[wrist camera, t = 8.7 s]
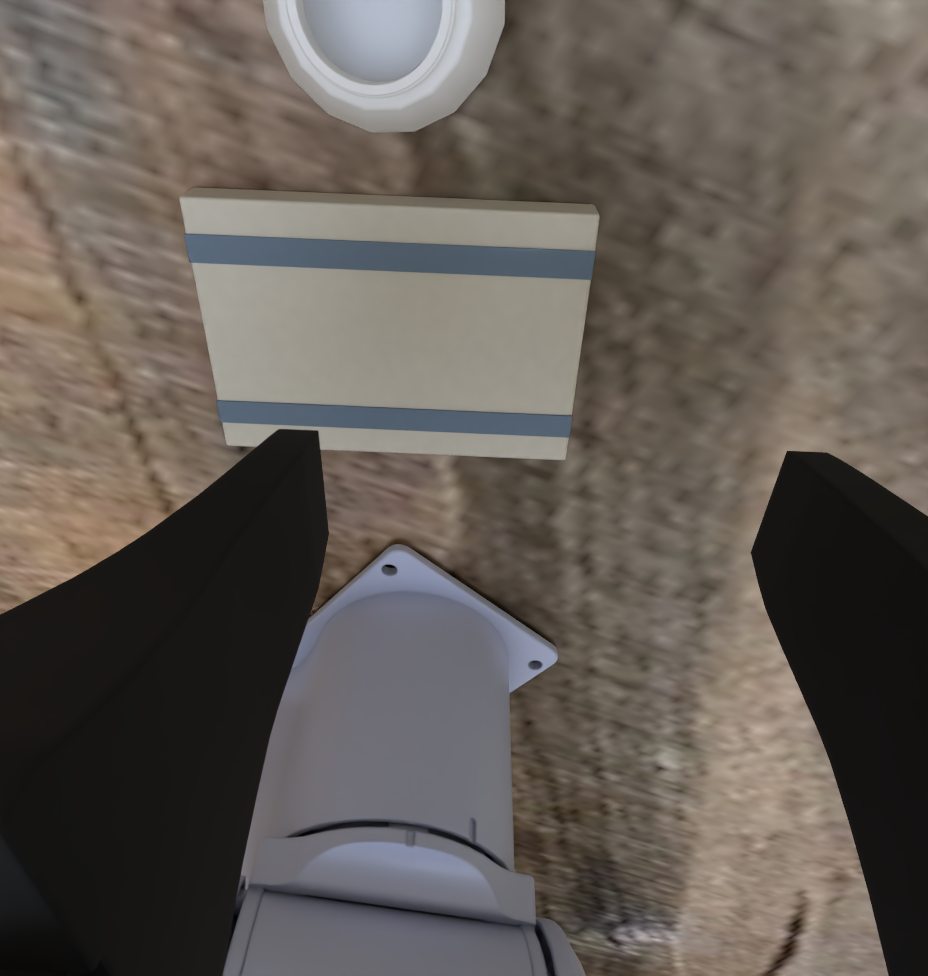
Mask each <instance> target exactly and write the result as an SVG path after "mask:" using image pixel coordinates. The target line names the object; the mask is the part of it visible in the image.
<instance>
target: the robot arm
mask: <svg viewBox="0 0 928 976" xmlns="http://www.w3.org/2000/svg"><path fill="white" fill-rule="evenodd" d="M328 535H329V531H328V521H327V511H326V501H325V492H324V482H323V472H322V462H321V452H320V442H319V432H318V430H296V429H278V430H277V431H275V432H274V433H273V434H272V435H270V436H269V437H268V438H267V439H265V440H264V441H263V442H262V443H261V444H260V445H258V446H257V447H256V448H255V449H254V450H252V451H251V452H250V453H249V454H248V455H247V456H245V457H244V458H243V459H242V460H241V461H240V462H238V463H237V464H236V465H235V466H234V467H232V468H231V469H230V470H229V471H227V472H226V473H225V474H224V475H223V476H221V477H220V478H219V479H218V480H216V481H215V482H214V483H213V484H212V485H210V486H209V487H208V488H207V489H205V490H204V491H203V492H202V493H200V494H199V495H198V496H197V497H195V498H194V499H192V500H191V501H190V502H188V503H187V504H186V505H184V506H183V507H182V508H180V509H179V510H177V511H176V512H175V513H173V514H172V515H171V516H169V517H168V518H166V519H165V520H164V521H162V522H161V523H160V524H158V525H157V526H155V527H154V528H153V529H151V530H150V531H149V532H147V533H146V534H144V535H143V536H141V537H140V538H138V539H137V540H135V541H134V542H132V543H131V544H129V545H127V546H126V547H124V548H123V549H121V550H120V551H118V552H116V553H115V554H113V555H111V556H110V557H108V558H106V559H105V560H103V561H101V562H100V563H98V564H96V565H95V566H93V567H91V568H89V569H88V570H86V571H84V572H83V573H81V574H79V575H77V576H75V577H74V578H72V579H70V580H68V581H66V582H64V583H62V584H60V585H58V586H56V587H54V588H52V589H50V590H48V591H46V592H44V593H42V594H41V595H39V596H37V597H35V598H33V599H31V600H29V601H27V602H25V603H23V604H21V605H19V606H17V607H15V608H13V609H11V610H9V611H7V612H5V613H3V614H1V615H0V976H585V973H584V970H583V968H582V965H581V963H580V961H579V959H578V957H577V956H576V954H575V953H574V951H573V949H572V948H571V946H570V943H569V941H568V939H567V937H566V936H565V934H564V932H563V931H562V929H561V928H560V926H559V925H557V924H556V923H555V922H554V921H552V920H549V919H544V918H537V917H536V913H535V893H534V878H533V877H531V876H529V875H524V874H519V873H516V872H514V844H513V808H512V773H511V737H510V701H509V693H511V692H512V691H514V690H515V689H517V688H518V687H520V686H521V685H523V684H524V683H526V682H527V681H529V680H530V679H532V678H533V677H535V676H536V675H538V674H539V673H541V672H542V671H544V670H545V669H547V668H548V667H550V666H551V665H553V664H554V663H555V662H556V661H557V659H558V653H557V648H556V647H555V646H554V645H553V644H551V643H550V642H548V641H547V640H545V639H544V638H543V637H541V636H540V635H538V634H537V633H535V632H534V631H532V630H531V629H529V628H528V627H526V626H525V625H523V624H522V623H520V622H519V621H517V620H516V619H514V618H513V617H511V616H510V615H509V614H507V613H506V612H504V611H503V610H501V609H500V608H498V607H497V606H495V605H494V604H492V603H491V602H489V601H488V600H486V599H485V598H483V597H482V596H480V595H479V594H477V593H476V592H475V591H473V590H472V589H470V588H469V587H467V586H466V585H464V584H463V583H461V582H460V581H458V580H457V579H455V578H454V577H452V576H451V575H449V574H448V573H446V572H445V571H443V570H442V569H441V568H439V567H438V566H436V565H435V564H433V563H432V562H430V561H429V560H427V559H426V558H424V557H423V556H421V555H420V554H418V553H417V552H415V551H414V550H412V549H411V548H409V547H408V546H405V545H401V544H396V545H392V546H390V547H388V548H387V549H386V550H385V551H384V552H383V553H382V554H380V555H379V556H378V557H377V558H376V559H375V560H374V561H373V562H372V563H370V564H369V565H368V566H367V567H366V568H365V569H364V570H363V571H361V572H360V573H359V574H358V575H357V576H356V577H355V578H354V579H353V580H351V581H350V582H349V583H348V584H347V585H346V586H345V587H344V588H342V589H341V590H340V591H339V592H338V593H337V594H336V595H335V596H333V597H332V598H331V599H330V600H329V601H328V602H327V603H326V604H325V605H323V606H322V607H321V608H320V609H319V610H318V611H317V612H316V613H314V614H313V615H312V616H311V617H310V618H309V615H310V612H311V609H312V606H313V603H314V600H315V597H316V594H317V591H318V588H319V583H320V578H321V573H322V568H323V563H324V557H325V552H326V546H327V541H328ZM751 555H752V559H753V563H754V567H755V572H756V576H757V580H758V584H759V587H760V591H761V594H762V598H763V601H764V605H765V608H766V611H767V613H768V616H769V618H770V621H771V623H772V625H773V628H774V630H775V632H776V635H777V637H778V640H779V642H780V644H781V647H782V649H783V651H784V654H785V656H786V658H787V660H788V663H789V665H790V667H791V670H792V672H793V674H794V676H795V679H796V681H797V683H798V686H799V688H800V690H801V692H802V695H803V697H804V699H805V702H806V704H807V706H808V708H809V711H810V713H811V715H812V718H813V720H814V722H815V724H816V727H817V729H818V731H819V734H820V736H821V739H822V742H823V744H824V747H825V749H826V752H827V755H828V757H829V760H830V763H831V766H832V769H833V772H834V775H835V779H836V782H837V785H838V788H839V791H840V795H841V798H842V801H843V804H844V808H845V811H846V814H847V817H848V820H849V824H850V827H851V831H852V834H853V838H854V842H855V845H856V849H857V852H858V856H859V860H860V863H861V867H862V870H863V874H864V878H865V881H866V885H867V888H868V892H869V896H870V900H871V904H872V908H873V912H874V917H875V921H876V925H877V929H878V933H879V937H880V941H881V945H882V950H883V954H884V958H885V962H886V966H887V970H888V974H889V976H928V516H926V515H925V514H923V513H922V512H920V511H919V510H917V509H916V508H914V507H913V506H911V505H910V504H908V503H907V502H905V501H904V500H902V499H901V498H899V497H898V496H896V495H895V494H893V493H892V492H890V491H889V490H887V489H886V488H884V487H883V486H881V485H880V484H878V483H877V482H875V481H874V480H872V479H871V478H869V477H868V476H866V475H864V474H863V473H861V472H860V471H858V470H857V469H855V468H853V467H852V466H850V465H848V464H847V463H845V462H843V461H842V460H840V459H838V458H836V457H834V456H832V455H831V454H829V453H822V452H799V451H787V453H786V455H785V458H784V461H783V464H782V467H781V469H780V472H779V475H778V478H777V481H776V483H775V486H774V489H773V492H772V495H771V497H770V500H769V503H768V506H767V509H766V511H765V514H764V517H763V520H762V523H761V525H760V528H759V531H758V534H757V537H756V539H755V542H754V545H753V548H752V551H751ZM387 564H391V565H393V566H395V567H394V568H388V567H386V566H385V565H387ZM308 618H309V619H308Z"/></svg>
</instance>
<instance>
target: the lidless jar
mask: <svg viewBox="0 0 928 976" xmlns="http://www.w3.org/2000/svg"><path fill="white" fill-rule="evenodd" d="M263 6H264V13H265V19H266V26H267V30H268V32H269V34H270V36H271V38H272V40H273V42H274V44H275V46H276V48H277V50H278V52H279V54H280V56H281V58H282V60H283V62H284V64H285V66H286V68H287V70H288V72H289V74H290V76H291V78H292V79H293V80H294V81H295V82H296V83H297V84H298V85H299V86H300V87H301V88H302V89H303V90H304V91H305V92H306V93H307V94H308V95H309V96H310V97H311V98H312V99H313V100H314V101H315V102H316V103H317V104H318V105H319V106H320V107H321V108H322V109H323V110H324V111H325V112H326V113H327V114H329V115H331V116H333V117H336V118H338V119H340V120H343V121H345V122H347V123H350V124H352V125H354V126H357V127H359V128H361V129H364V130H366V131H369V132H415V131H417V130H419V129H421V128H423V127H425V126H427V125H429V124H431V123H433V122H436V121H438V120H440V119H442V118H444V117H446V116H448V115H450V114H452V113H454V112H455V111H456V110H457V109H458V108H459V107H460V105H461V104H462V103H463V102H464V101H465V100H466V98H467V97H468V96H469V95H470V94H471V93H472V91H473V90H474V89H475V88H476V87H477V86H478V84H479V83H480V82H481V81H482V80H483V79H484V77H485V76H486V75H487V72H488V69H489V66H490V64H491V61H492V58H493V55H494V52H495V50H496V47H497V44H498V41H499V38H500V36H501V33H502V30H503V27H504V24H505V0H263Z"/></svg>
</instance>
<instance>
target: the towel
mask: <svg viewBox="0 0 928 976" xmlns="http://www.w3.org/2000/svg"><path fill="white" fill-rule="evenodd" d="M180 205H181V210H182V215H183V220H184V225H185V231H186V233H185V234H184V236H185V241H186V246H187V252H188V257H189V262H190V263H192V267H193V272H194V278H195V283H196V288H197V293H198V298H199V304H200V309H201V314H202V319H203V324H204V330H205V335H206V340H207V345H208V350H209V356H210V361H211V366H212V371H213V377H214V382H215V387H216V392H217V397H218V400H217V401H216V402H217V407H218V412H219V417H220V422H222V423H223V429H224V434H225V439H226V444H227V445H228V446H251V447H257V446H258V445H260V444H261V443H262V442H263V441H264V440H265V439H267V438H268V437H269V436H270V435H272V434H273V433H274V432H275V431H277V430H278V429H296V430H318V432H319V442H320V450H342V451H365V452H388V453H411V454H434V455H457V456H479V457H502V458H525V459H548V460H565V458H566V453H567V446H568V439H569V437H570V430H571V423H572V411H573V403H574V396H575V389H576V382H577V375H578V368H579V361H580V354H581V347H582V339H583V332H584V325H585V318H586V311H587V304H588V297H589V290H590V283H591V280H592V274H593V267H594V260H595V253H596V251H595V247H596V240H597V233H598V226H599V219H600V216H599V213H598V211H597V209H596V207H595V205H593V204H576V203H552V202H529V201H505V200H482V199H458V198H435V197H411V196H388V195H364V194H340V193H317V192H293V191H270V190H246V189H223V188H199V187H193V188H192V189H190V190H189V191H187V192H186V193H185V194H183V195H182V196H180Z"/></svg>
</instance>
